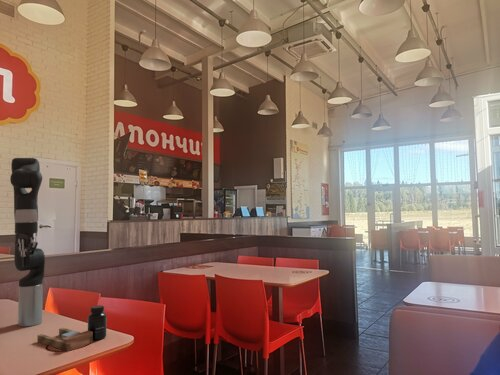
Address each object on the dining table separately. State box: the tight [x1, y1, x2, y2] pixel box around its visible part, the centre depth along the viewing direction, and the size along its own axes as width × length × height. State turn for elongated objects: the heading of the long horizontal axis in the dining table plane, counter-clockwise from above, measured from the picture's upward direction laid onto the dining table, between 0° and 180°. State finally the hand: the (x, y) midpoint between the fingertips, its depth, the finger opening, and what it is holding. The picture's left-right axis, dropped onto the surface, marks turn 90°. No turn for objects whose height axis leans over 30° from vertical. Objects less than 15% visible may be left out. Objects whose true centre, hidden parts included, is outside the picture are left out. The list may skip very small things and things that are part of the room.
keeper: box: [60, 330, 81, 340], centre depth 137 cm, size 5×5×4 cm
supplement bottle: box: [87, 304, 108, 342], centre depth 144 cm, size 7×7×12 cm
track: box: [37, 327, 94, 352], centre depth 140 cm, size 20×10×4 cm, turn 58°
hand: (25, 266), depth 142 cm, fingers closed
